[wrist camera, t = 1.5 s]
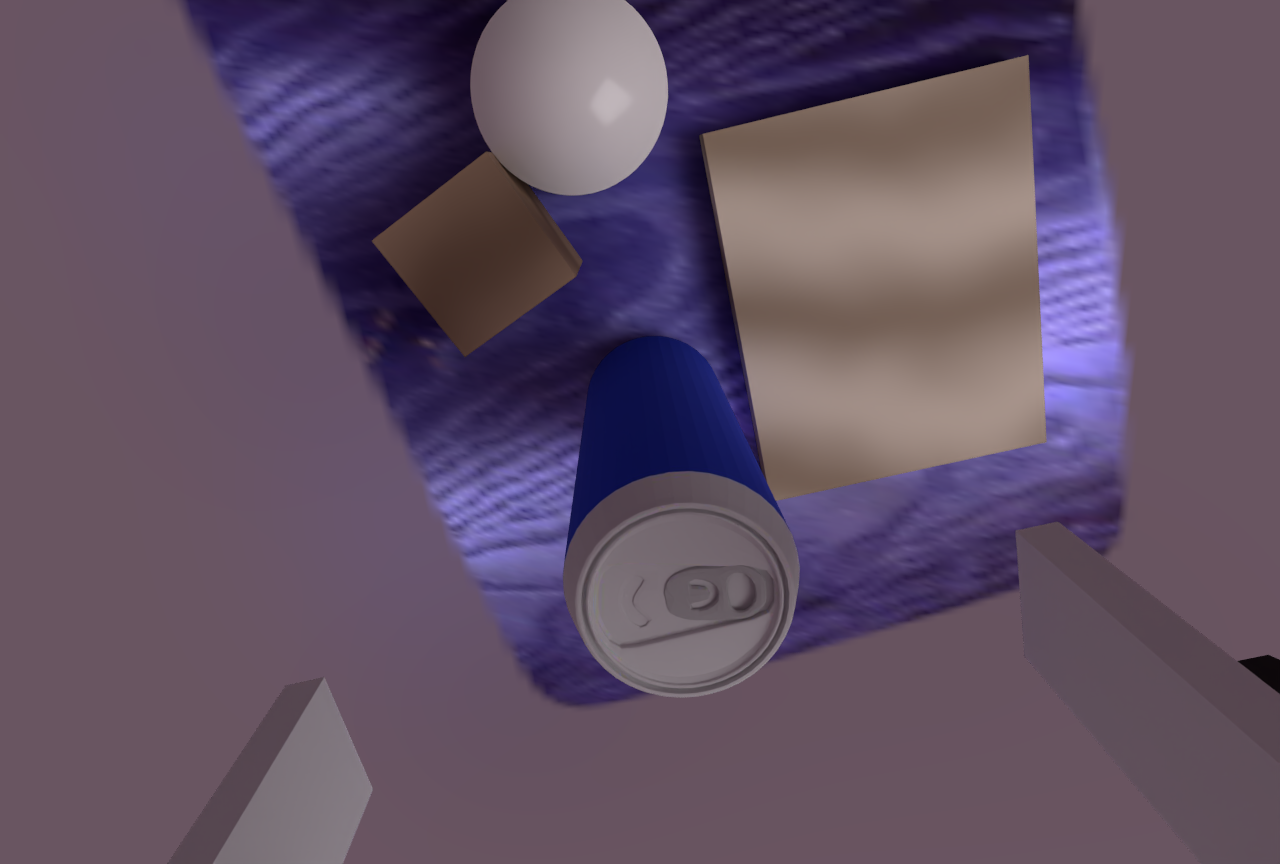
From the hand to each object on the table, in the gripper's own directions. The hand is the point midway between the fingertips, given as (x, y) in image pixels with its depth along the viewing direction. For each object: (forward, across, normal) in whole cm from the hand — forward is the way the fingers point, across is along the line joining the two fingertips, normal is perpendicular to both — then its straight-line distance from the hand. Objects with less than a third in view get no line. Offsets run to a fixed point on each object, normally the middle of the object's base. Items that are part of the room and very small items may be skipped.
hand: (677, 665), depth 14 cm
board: (+16, +10, +2) cm, 19 cm away
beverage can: (+17, 0, 0) cm, 17 cm away
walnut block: (+16, -4, +7) cm, 19 cm away
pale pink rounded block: (+16, 0, +12) cm, 20 cm away
